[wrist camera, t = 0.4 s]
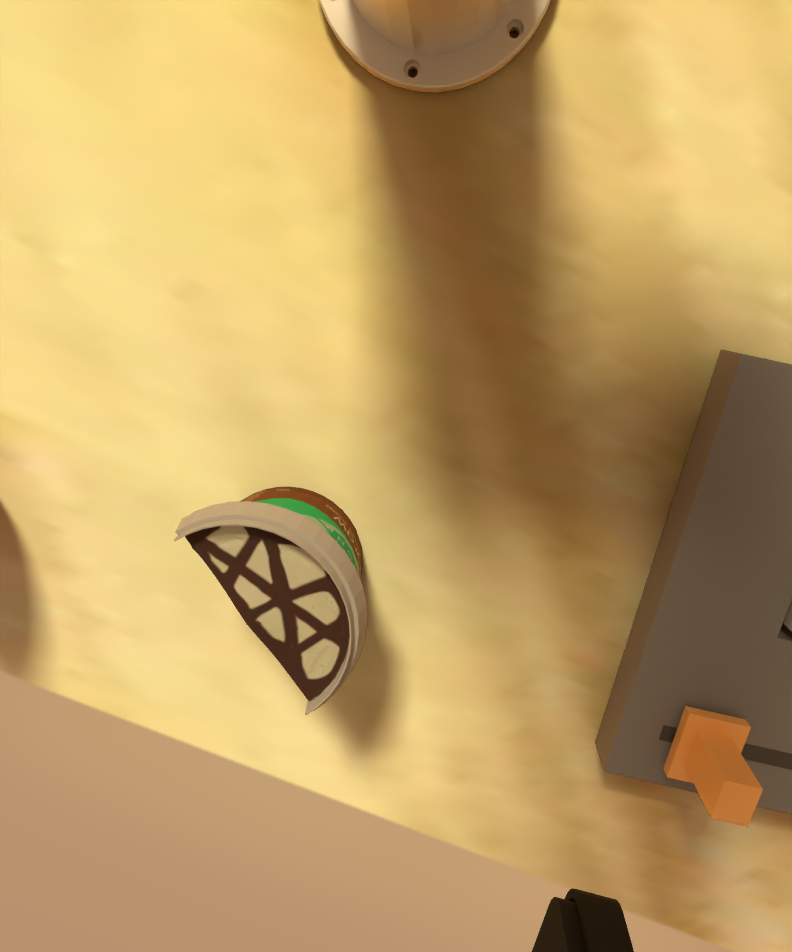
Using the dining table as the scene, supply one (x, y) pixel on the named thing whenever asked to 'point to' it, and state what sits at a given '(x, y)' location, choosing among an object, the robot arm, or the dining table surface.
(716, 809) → the orange slider handle
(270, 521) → the food container
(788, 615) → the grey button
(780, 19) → the dining table surface
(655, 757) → the switch panel
